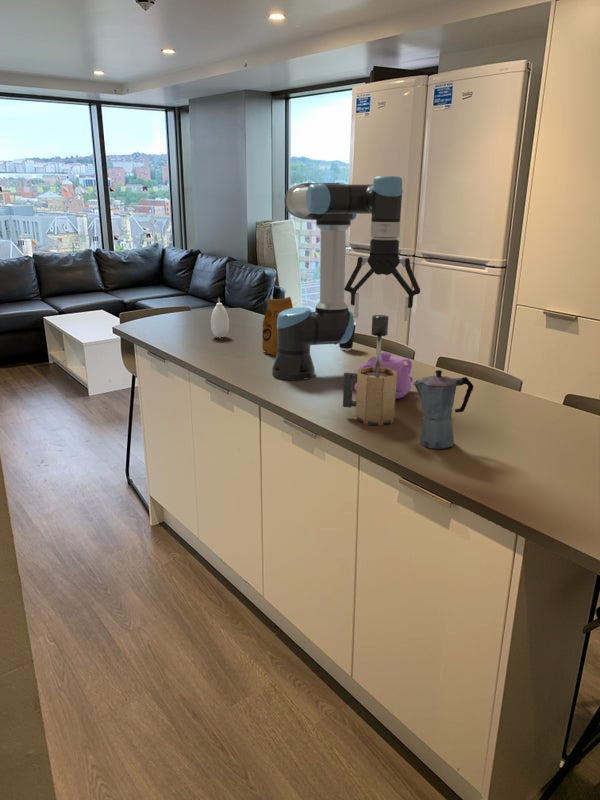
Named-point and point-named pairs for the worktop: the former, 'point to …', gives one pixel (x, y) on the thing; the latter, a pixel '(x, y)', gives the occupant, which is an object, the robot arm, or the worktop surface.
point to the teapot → (395, 364)
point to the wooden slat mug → (372, 396)
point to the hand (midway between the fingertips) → (380, 318)
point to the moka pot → (439, 408)
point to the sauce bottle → (219, 321)
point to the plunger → (379, 341)
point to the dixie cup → (348, 342)
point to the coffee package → (273, 323)
